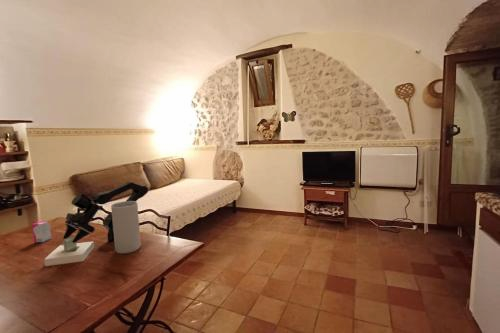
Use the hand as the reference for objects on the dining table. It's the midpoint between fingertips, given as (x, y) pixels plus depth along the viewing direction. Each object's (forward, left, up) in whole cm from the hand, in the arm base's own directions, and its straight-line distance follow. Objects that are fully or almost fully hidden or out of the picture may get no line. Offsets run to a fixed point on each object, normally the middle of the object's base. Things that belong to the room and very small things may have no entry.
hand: (68, 240), depth 128 cm
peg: (0, 0, -8) cm, 8 cm away
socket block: (0, 0, -8) cm, 8 cm away
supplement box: (+25, -28, -9) cm, 39 cm away
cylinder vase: (-27, 0, -9) cm, 29 cm away
